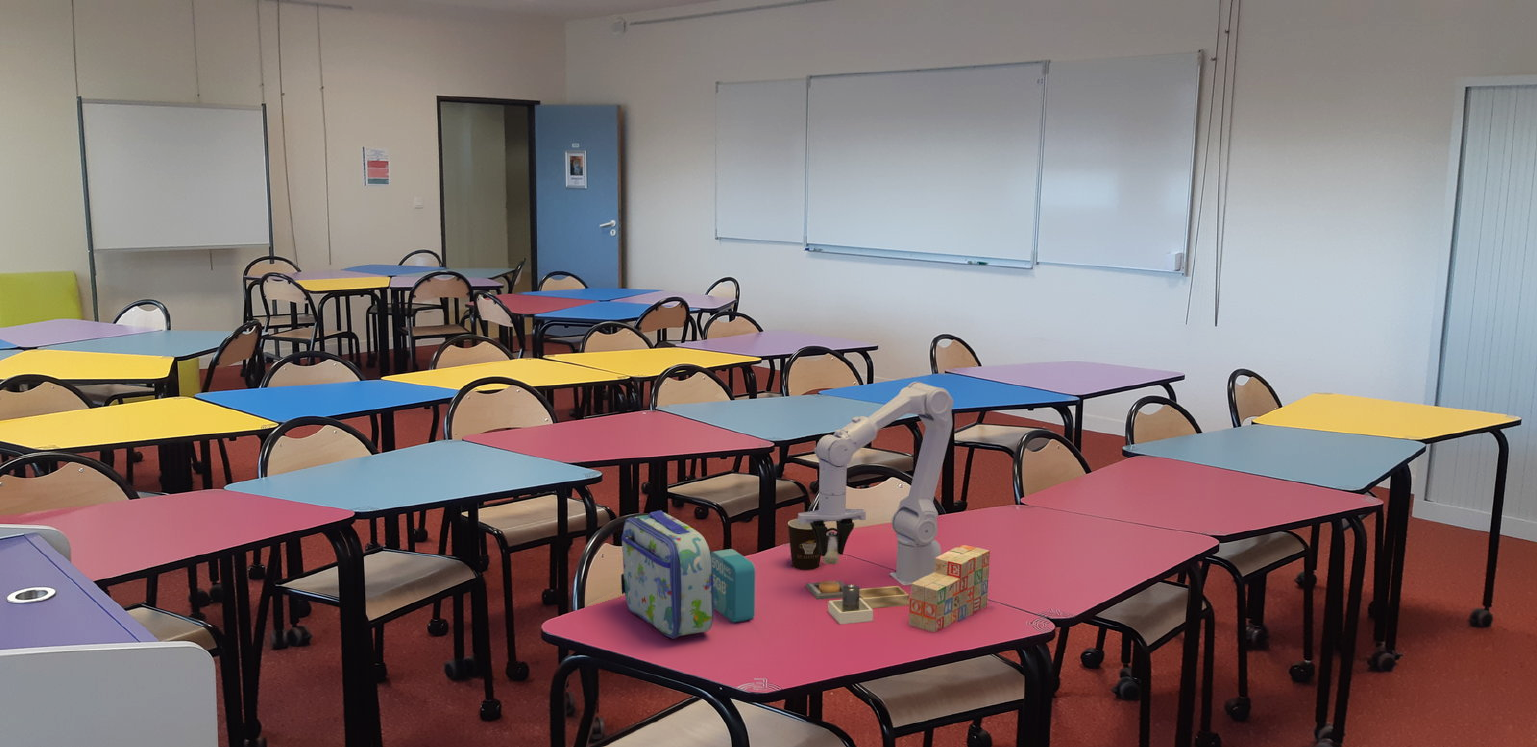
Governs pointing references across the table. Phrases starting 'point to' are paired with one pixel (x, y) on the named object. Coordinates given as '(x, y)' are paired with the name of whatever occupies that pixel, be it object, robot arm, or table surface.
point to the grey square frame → (818, 595)
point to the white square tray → (850, 612)
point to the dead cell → (850, 598)
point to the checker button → (829, 587)
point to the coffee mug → (804, 546)
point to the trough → (884, 597)
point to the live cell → (831, 548)
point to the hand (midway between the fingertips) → (831, 553)
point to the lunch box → (667, 574)
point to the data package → (733, 585)
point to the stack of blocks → (951, 589)
